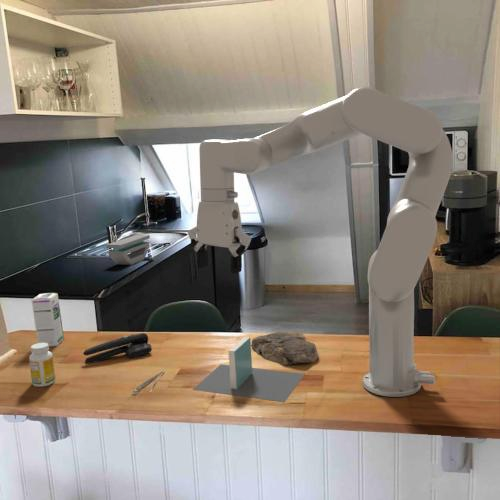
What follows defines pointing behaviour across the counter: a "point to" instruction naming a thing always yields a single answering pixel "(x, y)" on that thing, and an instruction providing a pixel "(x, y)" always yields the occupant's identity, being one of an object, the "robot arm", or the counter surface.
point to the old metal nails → (147, 383)
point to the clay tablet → (285, 348)
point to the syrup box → (48, 319)
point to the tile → (240, 362)
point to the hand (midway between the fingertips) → (219, 269)
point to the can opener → (120, 348)
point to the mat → (252, 383)
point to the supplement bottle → (41, 365)
